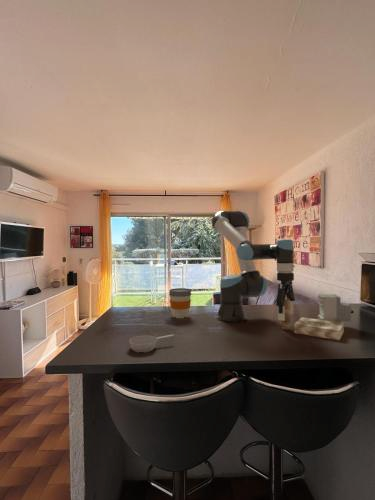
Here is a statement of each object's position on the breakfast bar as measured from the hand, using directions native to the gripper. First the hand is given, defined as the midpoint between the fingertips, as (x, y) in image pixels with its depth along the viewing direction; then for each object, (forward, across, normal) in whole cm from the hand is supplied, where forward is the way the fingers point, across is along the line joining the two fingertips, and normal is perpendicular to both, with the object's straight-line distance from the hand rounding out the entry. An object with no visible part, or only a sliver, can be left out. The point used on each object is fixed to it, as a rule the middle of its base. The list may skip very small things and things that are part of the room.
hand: (286, 317), depth 132 cm
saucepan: (+6, -53, +36) cm, 64 cm away
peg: (+6, 0, 0) cm, 6 cm away
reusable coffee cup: (+5, -8, +56) cm, 57 cm away
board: (+6, +3, -14) cm, 15 cm away
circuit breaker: (+6, +17, -18) cm, 26 cm away
